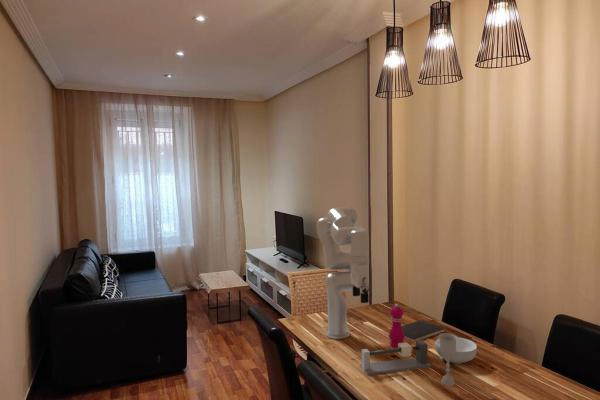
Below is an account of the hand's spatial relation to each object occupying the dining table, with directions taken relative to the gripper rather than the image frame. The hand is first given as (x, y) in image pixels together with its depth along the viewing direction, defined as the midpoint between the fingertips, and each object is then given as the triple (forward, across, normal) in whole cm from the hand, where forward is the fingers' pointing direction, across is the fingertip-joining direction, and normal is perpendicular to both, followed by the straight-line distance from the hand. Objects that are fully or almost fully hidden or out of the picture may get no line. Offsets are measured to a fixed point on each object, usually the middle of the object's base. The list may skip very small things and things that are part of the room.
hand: (360, 299), depth 177 cm
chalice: (+28, +23, +27) cm, 45 cm away
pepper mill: (+28, -14, +23) cm, 39 cm away
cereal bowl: (+28, +6, +41) cm, 50 cm away
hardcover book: (+29, -26, +40) cm, 56 cm away
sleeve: (+23, +6, +17) cm, 29 cm away
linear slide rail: (+28, +6, +13) cm, 31 cm away
